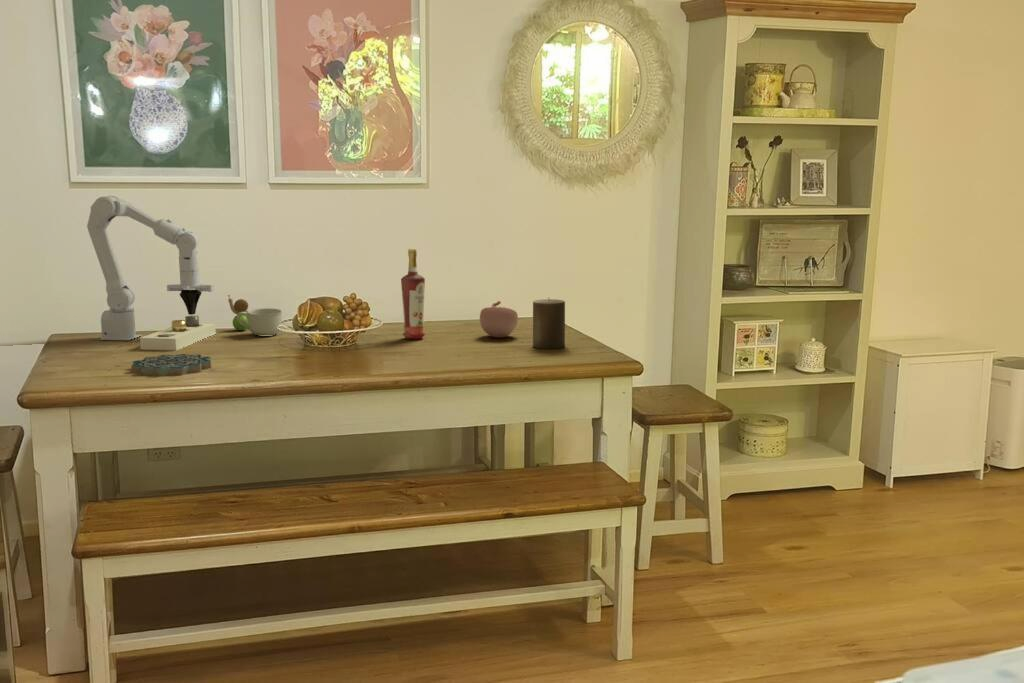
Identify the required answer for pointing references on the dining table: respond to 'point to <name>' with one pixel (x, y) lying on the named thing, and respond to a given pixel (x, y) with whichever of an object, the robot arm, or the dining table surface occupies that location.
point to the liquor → (413, 299)
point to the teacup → (262, 320)
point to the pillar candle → (549, 323)
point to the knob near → (165, 335)
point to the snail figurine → (237, 308)
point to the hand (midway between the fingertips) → (191, 314)
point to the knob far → (192, 321)
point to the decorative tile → (171, 365)
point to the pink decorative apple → (498, 320)
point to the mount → (177, 338)
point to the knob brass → (178, 325)
